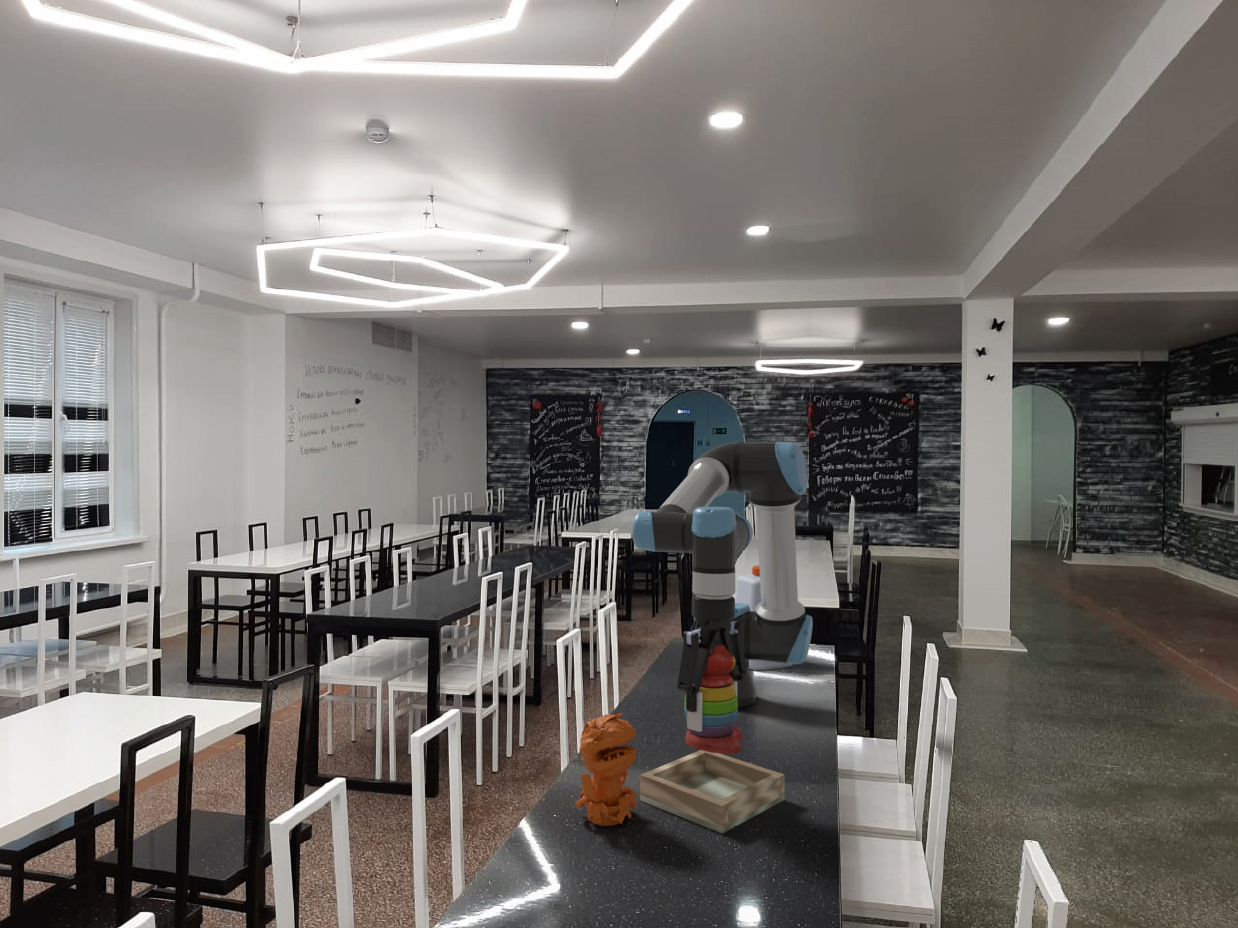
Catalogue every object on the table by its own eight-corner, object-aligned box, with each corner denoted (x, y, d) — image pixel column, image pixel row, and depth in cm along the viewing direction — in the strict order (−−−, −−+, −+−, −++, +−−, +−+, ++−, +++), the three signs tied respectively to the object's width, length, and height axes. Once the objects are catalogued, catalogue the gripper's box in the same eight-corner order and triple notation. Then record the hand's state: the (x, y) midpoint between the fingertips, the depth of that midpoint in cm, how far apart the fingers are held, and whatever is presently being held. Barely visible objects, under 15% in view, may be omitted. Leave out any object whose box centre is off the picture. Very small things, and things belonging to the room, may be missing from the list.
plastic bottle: (753, 672, 230) (754, 571, 229) (725, 659, 244) (726, 564, 243) (799, 667, 236) (800, 568, 235) (769, 655, 250) (770, 561, 249)
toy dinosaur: (617, 839, 132) (618, 726, 131) (561, 823, 138) (562, 714, 137) (652, 813, 141) (653, 708, 141) (599, 799, 147) (599, 697, 147)
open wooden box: (703, 771, 159) (703, 748, 159) (784, 799, 147) (784, 774, 147) (640, 800, 147) (640, 774, 146) (722, 833, 134) (722, 805, 134)
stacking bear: (740, 755, 140) (740, 650, 140) (680, 751, 142) (680, 647, 142) (743, 734, 151) (744, 636, 151) (687, 730, 153) (688, 633, 153)
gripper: (733, 585, 157) (732, 704, 157) (655, 600, 141) (654, 732, 141) (767, 590, 151) (766, 713, 152) (690, 606, 136) (689, 743, 136)
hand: (712, 722), depth 146 cm, fingers closed on stacking bear, 9 cm apart
